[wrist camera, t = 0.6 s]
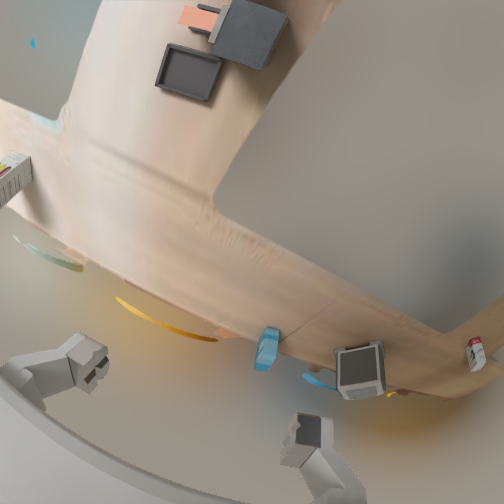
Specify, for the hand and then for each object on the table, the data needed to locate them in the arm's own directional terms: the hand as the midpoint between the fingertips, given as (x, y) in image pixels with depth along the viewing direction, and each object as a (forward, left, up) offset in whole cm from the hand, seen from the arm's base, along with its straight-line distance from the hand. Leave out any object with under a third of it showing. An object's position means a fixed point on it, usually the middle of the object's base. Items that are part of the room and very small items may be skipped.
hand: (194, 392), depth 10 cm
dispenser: (-16, -1, -50) cm, 53 cm away
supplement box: (-25, -73, -50) cm, 92 cm away
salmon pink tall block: (-19, -3, -50) cm, 54 cm away
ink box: (+109, +42, -50) cm, 127 cm away
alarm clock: (+91, -7, -50) cm, 104 cm away
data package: (+68, -35, -50) cm, 91 cm away
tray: (-13, -12, -50) cm, 53 cm away
